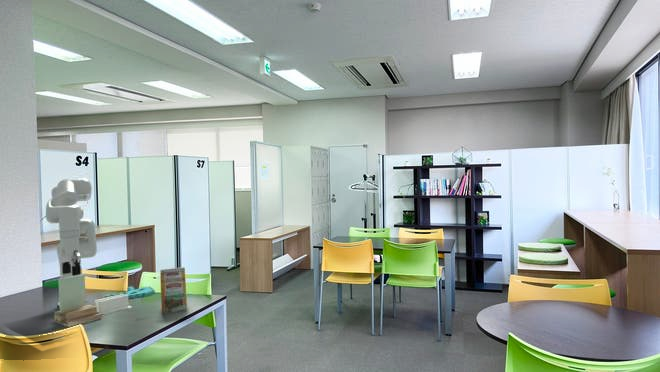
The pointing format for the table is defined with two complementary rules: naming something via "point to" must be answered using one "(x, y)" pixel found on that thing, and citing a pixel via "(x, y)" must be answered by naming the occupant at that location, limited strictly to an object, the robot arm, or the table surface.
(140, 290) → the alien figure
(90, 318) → the rack
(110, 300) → the stand
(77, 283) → the sheet
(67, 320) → the offcut lower
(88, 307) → the offcut upper
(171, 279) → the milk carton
